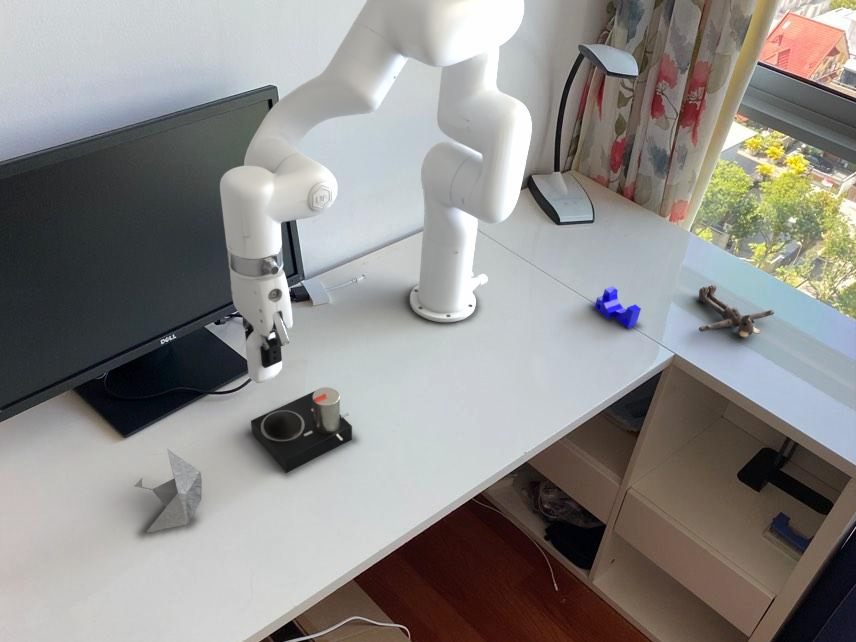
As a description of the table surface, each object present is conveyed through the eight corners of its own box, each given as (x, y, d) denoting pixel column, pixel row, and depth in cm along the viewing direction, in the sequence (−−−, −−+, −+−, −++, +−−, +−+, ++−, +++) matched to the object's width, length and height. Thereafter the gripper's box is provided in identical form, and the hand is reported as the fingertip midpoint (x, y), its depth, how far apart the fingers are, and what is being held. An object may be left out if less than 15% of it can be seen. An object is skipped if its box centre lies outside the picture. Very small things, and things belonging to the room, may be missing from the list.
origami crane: (191, 540, 109) (121, 527, 107) (190, 542, 115) (124, 530, 113) (212, 454, 112) (144, 440, 110) (210, 460, 118) (146, 447, 116)
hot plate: (322, 401, 132) (321, 386, 130) (363, 442, 126) (363, 428, 124) (252, 434, 126) (250, 419, 124) (292, 479, 120) (291, 465, 118)
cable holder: (594, 307, 157) (598, 291, 154) (607, 303, 158) (612, 286, 155) (622, 330, 152) (627, 313, 149) (635, 325, 153) (640, 308, 151)
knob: (330, 412, 126) (329, 382, 122) (344, 426, 124) (344, 397, 120) (308, 422, 124) (307, 392, 120) (323, 437, 122) (322, 407, 118)
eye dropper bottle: (287, 378, 127) (283, 317, 119) (251, 386, 125) (245, 325, 117) (279, 361, 130) (274, 300, 121) (244, 368, 128) (237, 307, 120)
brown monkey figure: (742, 276, 163) (794, 312, 152) (737, 295, 165) (787, 331, 155) (670, 292, 157) (719, 331, 146) (665, 311, 159) (713, 350, 149)
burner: (289, 406, 127) (289, 403, 126) (313, 430, 123) (312, 427, 123) (252, 423, 123) (252, 420, 123) (275, 448, 120) (275, 445, 120)
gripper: (311, 275, 110) (314, 376, 122) (248, 221, 119) (257, 320, 131) (263, 293, 106) (271, 395, 119) (202, 236, 115) (216, 337, 128)
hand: (264, 355), depth 125 cm, fingers closed on eye dropper bottle, 3 cm apart
